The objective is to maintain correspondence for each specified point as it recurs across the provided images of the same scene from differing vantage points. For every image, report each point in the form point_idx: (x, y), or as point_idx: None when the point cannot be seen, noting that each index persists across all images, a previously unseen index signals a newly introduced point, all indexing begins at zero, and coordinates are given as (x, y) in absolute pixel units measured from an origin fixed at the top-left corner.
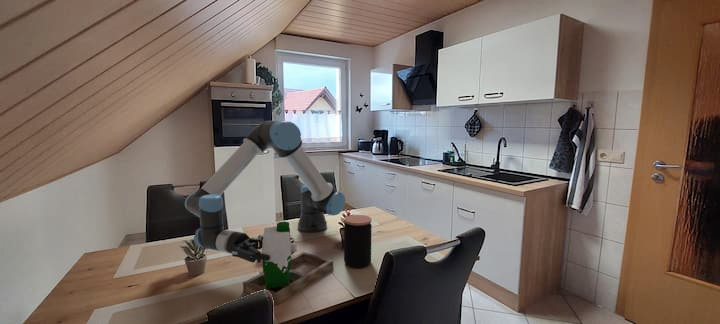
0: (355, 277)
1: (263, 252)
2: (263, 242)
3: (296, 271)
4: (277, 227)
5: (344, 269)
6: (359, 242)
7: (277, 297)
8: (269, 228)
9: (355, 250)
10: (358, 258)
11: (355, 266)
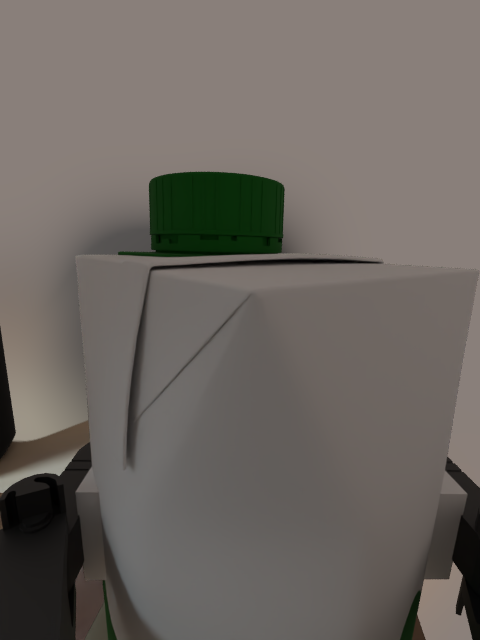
0: (83, 438)
1: (446, 479)
2: (455, 382)
3: (102, 614)
4: (281, 216)
5: (4, 479)
6: (2, 343)
7: None
8: (246, 272)
9: (2, 380)
10: (11, 405)
11: (11, 441)
